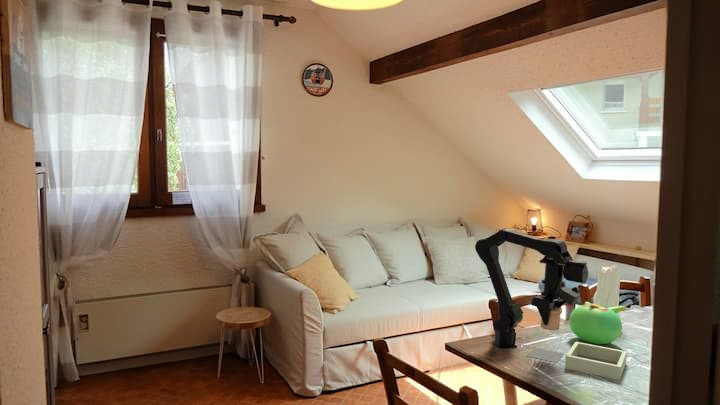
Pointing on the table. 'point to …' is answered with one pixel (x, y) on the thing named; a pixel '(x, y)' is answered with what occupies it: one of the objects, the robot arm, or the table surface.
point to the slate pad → (545, 355)
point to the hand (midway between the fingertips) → (549, 323)
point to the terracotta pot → (553, 319)
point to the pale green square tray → (596, 360)
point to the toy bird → (596, 323)
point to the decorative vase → (608, 287)
